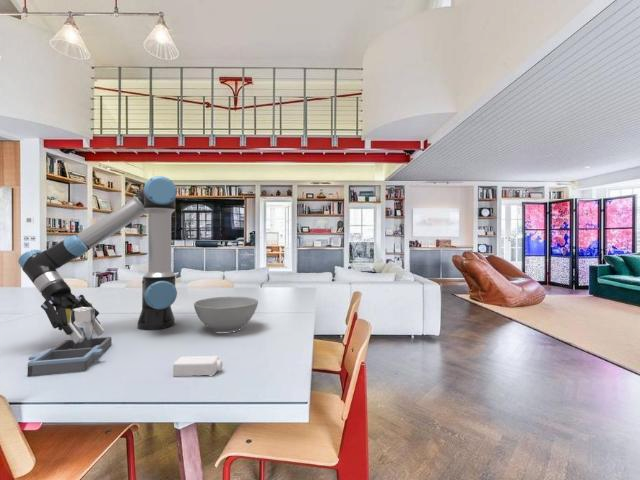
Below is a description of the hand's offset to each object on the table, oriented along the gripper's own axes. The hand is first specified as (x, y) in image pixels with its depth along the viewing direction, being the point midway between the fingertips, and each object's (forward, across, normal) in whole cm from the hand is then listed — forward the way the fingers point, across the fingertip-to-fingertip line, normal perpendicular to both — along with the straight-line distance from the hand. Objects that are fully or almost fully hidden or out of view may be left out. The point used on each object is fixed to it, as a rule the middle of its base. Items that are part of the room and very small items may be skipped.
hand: (90, 336), depth 111 cm
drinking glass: (+2, 0, -6) cm, 7 cm away
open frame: (+4, +5, -4) cm, 8 cm away
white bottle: (+36, +6, +27) cm, 45 cm away
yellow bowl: (-22, -27, -30) cm, 46 cm away
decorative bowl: (+25, -39, +17) cm, 49 cm away
